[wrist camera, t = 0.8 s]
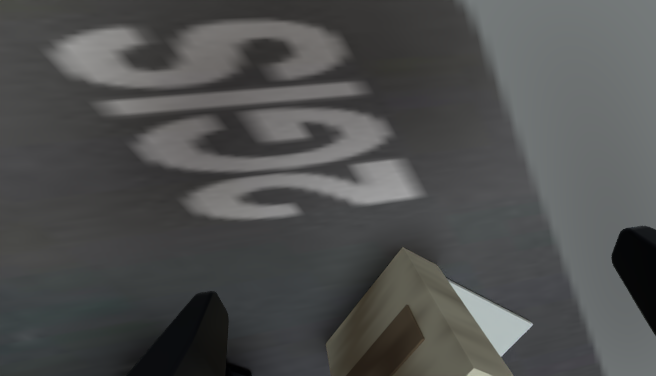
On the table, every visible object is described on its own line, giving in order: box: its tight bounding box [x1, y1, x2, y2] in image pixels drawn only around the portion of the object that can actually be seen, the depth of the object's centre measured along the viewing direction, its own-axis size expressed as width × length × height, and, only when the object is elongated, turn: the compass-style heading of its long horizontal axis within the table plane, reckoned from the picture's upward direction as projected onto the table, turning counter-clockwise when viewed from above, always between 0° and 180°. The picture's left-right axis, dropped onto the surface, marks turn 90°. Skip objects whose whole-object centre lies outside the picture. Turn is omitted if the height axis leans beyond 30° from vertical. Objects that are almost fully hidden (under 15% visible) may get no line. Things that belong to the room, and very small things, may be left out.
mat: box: [446, 278, 533, 357], centre depth 27 cm, size 9×10×1 cm
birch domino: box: [326, 247, 513, 376], centre depth 20 cm, size 9×3×9 cm, turn 147°
